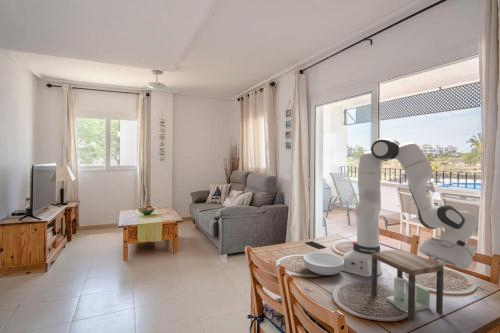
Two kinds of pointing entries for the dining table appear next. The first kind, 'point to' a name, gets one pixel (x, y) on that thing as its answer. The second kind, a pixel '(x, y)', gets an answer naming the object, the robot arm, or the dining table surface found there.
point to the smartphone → (315, 245)
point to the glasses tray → (420, 300)
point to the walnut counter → (412, 267)
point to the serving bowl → (323, 263)
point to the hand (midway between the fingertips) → (434, 267)
